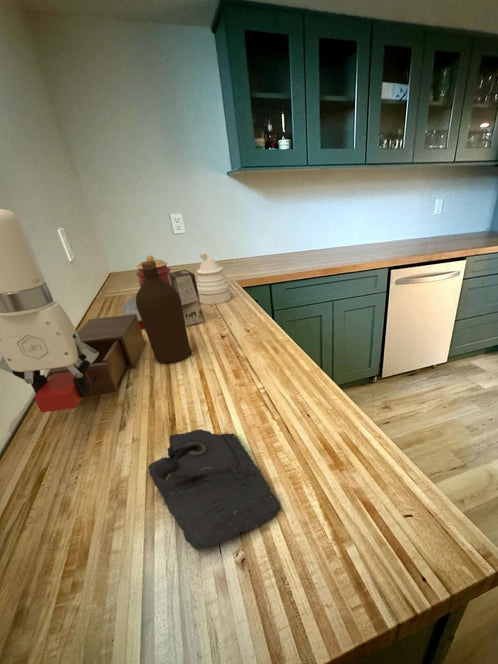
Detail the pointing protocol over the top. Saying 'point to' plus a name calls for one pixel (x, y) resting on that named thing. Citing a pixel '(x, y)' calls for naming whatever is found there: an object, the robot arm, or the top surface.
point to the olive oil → (162, 316)
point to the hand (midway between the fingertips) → (66, 395)
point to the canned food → (131, 310)
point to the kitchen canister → (160, 266)
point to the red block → (58, 393)
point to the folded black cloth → (212, 487)
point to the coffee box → (187, 295)
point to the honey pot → (212, 282)
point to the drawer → (103, 367)
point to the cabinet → (116, 334)
